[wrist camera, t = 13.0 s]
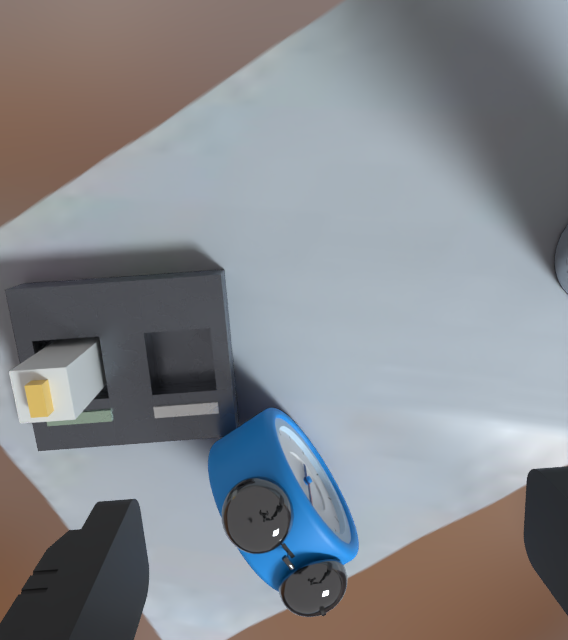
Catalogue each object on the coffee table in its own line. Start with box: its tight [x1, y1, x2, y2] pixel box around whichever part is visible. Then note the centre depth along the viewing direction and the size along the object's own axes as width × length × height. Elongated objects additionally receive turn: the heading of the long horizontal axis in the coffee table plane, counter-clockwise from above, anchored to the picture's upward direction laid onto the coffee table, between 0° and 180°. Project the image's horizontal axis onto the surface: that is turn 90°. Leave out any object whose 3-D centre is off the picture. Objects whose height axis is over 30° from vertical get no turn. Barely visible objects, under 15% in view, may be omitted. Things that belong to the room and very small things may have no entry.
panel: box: [5, 270, 239, 451], centre depth 42 cm, size 17×14×3 cm
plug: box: [9, 337, 107, 424], centre depth 39 cm, size 4×4×9 cm
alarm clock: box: [208, 408, 359, 617], centre depth 39 cm, size 13×6×15 cm, turn 34°
